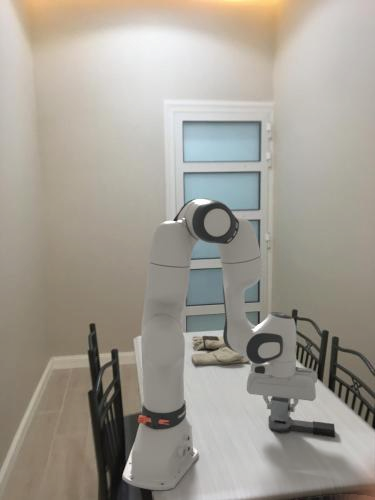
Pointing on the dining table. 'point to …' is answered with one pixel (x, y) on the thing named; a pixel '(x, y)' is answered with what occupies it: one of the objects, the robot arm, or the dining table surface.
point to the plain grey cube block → (280, 408)
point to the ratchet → (302, 427)
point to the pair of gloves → (215, 357)
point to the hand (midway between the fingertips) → (280, 409)
